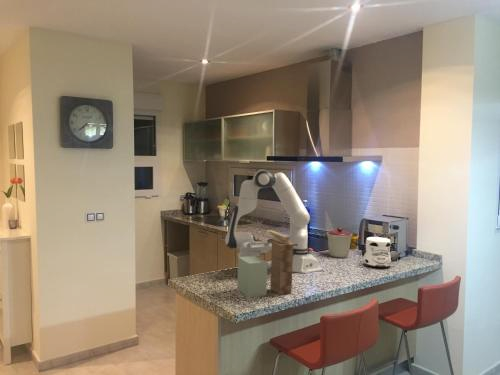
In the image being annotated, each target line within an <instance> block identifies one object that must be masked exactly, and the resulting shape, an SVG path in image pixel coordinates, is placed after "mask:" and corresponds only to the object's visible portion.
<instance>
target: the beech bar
mask: <svg viewBox="0 0 500 375" xmlns="http://www.w3.org/2000/svg"><path fill="white" fill-rule="evenodd" d="M265 233H266V234H265V236H266V238H269V239H270V240H276V241H278V242H281V243H283V244H290V235H286V234H283V233H280V232H278V231H274V230H272V229H270V230H269V229H267V230H266V232H265Z"/></svg>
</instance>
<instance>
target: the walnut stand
mask: <svg viewBox="0 0 500 375" xmlns="http://www.w3.org/2000/svg"><path fill="white" fill-rule="evenodd" d="M266 241H267V242H269V243H271V244H272V249H271V263H270V265H271V266H270V285H269V286H270V291H272V292H274V293H276V294H277V295H278V296H281V295H282V296H283V295H290V294H292V287H293V272H292V267H293V246H297V244H296V243H293V242H291V241H290V244H283V243H281V242H278V241H276V240H273V239H267V240H266Z"/></svg>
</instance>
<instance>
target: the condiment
mask: <svg viewBox="0 0 500 375" xmlns="http://www.w3.org/2000/svg"><path fill="white" fill-rule="evenodd" d="M351 234H352V236H351V242H350V248H349V250H352V249H357V248H359V247H358V245H359V244H358V243H359V237H358V233H354V232H353V233H351ZM357 250H358V249H357Z"/></svg>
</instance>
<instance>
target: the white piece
mask: <svg viewBox="0 0 500 375" xmlns="http://www.w3.org/2000/svg"><path fill="white" fill-rule="evenodd" d="M391 244H392V242H391V238H390V239H389V238H386V237H380V236H379V237H378V236H369V237H366V239H365V251H364V254H363V262H364V264H365V265H367V266H369V267H372V268H380V269H381V268H388V267H389V266H391V264H392V263H391V262H392V261H391V255H390V247H391Z"/></svg>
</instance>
